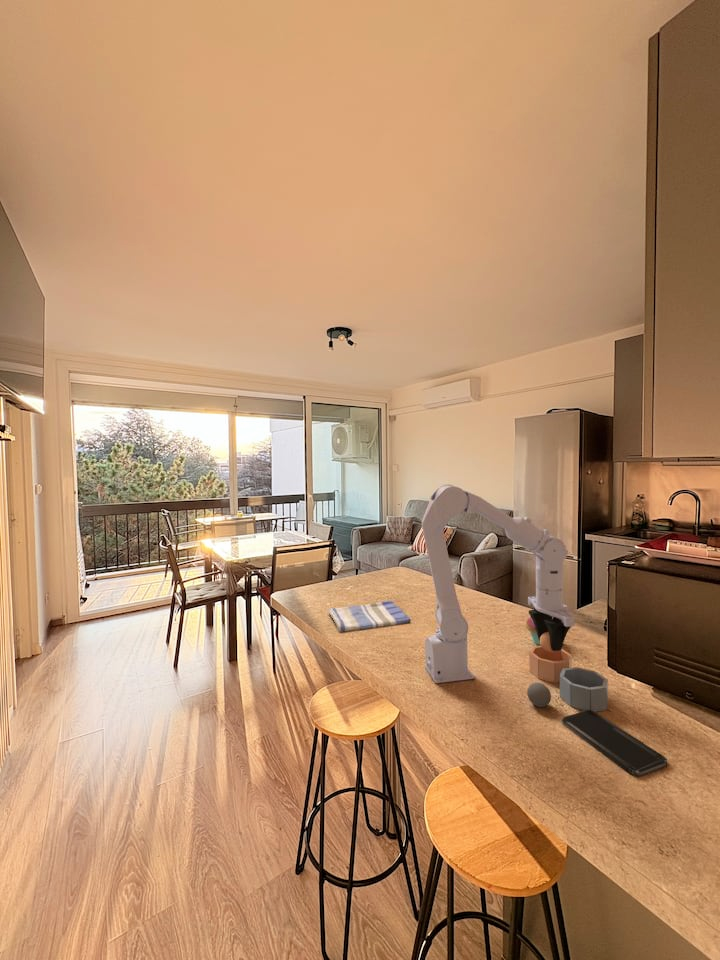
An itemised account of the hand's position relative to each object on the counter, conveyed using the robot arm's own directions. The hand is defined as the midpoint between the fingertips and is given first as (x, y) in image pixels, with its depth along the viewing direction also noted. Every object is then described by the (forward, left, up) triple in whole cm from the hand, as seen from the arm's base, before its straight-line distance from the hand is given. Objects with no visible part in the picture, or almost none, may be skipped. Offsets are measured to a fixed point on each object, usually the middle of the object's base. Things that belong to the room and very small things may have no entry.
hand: (550, 645), depth 95 cm
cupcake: (+8, +15, -7) cm, 18 cm away
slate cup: (0, -11, -6) cm, 13 cm away
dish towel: (-35, +44, -7) cm, 57 cm away
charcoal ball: (-10, -11, -4) cm, 15 cm away
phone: (-4, -23, -7) cm, 25 cm away
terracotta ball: (0, 0, +1) cm, 1 cm away
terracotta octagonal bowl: (0, 0, -6) cm, 6 cm away
